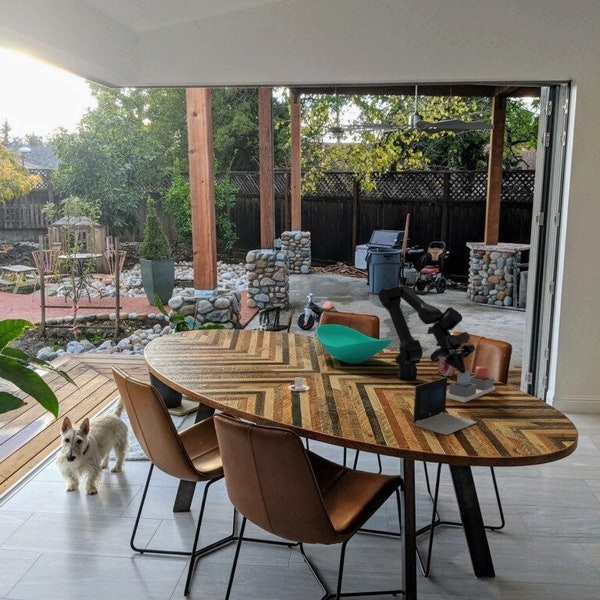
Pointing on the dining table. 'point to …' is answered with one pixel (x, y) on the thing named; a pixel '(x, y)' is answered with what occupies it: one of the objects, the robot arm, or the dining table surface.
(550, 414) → the dining table surface
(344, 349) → the table top decor
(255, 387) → the dining table surface
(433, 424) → the laptop
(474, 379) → the button panel
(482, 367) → the red button
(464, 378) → the slate button
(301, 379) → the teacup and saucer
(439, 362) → the soda can
